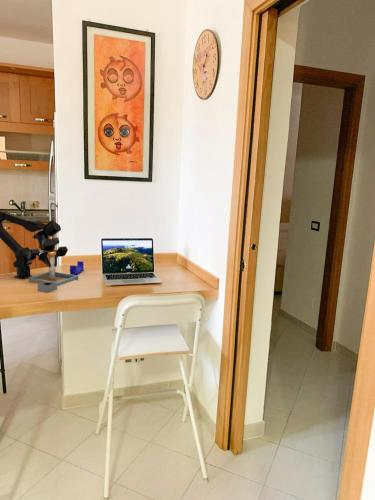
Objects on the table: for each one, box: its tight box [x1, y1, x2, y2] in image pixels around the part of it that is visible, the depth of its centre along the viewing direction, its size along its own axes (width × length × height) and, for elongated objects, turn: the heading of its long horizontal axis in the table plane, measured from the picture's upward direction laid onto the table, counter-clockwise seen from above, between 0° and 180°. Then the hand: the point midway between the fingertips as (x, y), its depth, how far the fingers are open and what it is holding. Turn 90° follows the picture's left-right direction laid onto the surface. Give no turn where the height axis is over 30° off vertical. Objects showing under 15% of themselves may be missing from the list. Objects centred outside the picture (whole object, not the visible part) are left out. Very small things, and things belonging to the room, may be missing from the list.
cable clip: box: [69, 260, 84, 276], centre depth 213 cm, size 12×4×6 cm, turn 174°
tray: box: [28, 271, 79, 287], centre depth 194 cm, size 18×16×3 cm
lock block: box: [37, 280, 58, 293], centre depth 177 cm, size 6×6×4 cm
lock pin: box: [47, 251, 56, 279], centre depth 189 cm, size 4×4×14 cm
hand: (53, 266), depth 188 cm, fingers closed on lock pin, 3 cm apart
